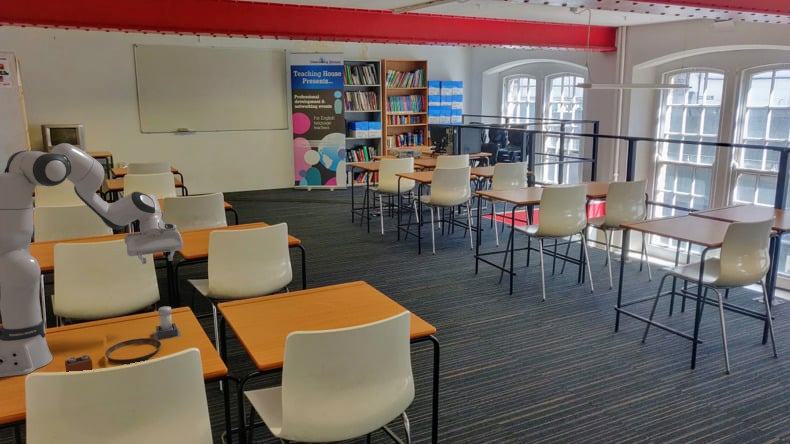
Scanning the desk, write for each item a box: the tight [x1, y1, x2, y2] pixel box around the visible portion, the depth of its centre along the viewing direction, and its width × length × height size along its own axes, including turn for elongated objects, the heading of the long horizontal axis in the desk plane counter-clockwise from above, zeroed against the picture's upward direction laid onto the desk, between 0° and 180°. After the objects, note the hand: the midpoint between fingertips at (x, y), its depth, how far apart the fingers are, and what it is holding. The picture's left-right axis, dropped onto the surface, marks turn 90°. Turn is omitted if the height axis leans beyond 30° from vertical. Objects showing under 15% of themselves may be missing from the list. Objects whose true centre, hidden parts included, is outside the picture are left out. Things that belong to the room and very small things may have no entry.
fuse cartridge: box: [157, 306, 173, 331], centre depth 219 cm, size 4×4×10 cm
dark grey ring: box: [105, 337, 162, 365], centre depth 204 cm, size 18×18×3 cm
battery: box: [64, 354, 94, 373], centre depth 180 cm, size 4×7×10 cm, turn 127°
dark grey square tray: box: [152, 322, 182, 341], centre depth 220 cm, size 9×9×4 cm
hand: (157, 261), depth 226 cm, fingers open, 8 cm apart
